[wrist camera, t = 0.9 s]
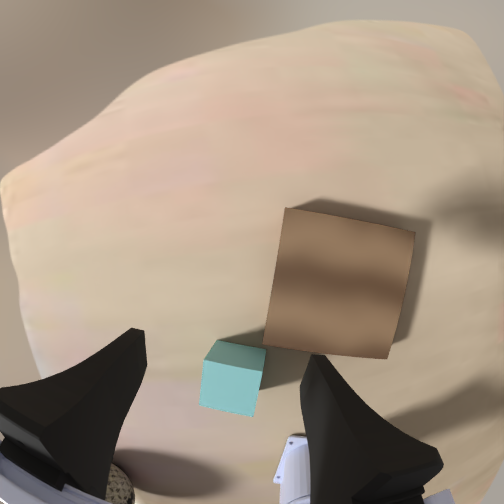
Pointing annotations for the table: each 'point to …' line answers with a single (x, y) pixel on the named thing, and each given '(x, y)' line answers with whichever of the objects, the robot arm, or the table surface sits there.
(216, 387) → the teal cube
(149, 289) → the table surface
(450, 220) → the table surface
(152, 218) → the table surface
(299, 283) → the walnut plinth
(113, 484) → the decorative egg
